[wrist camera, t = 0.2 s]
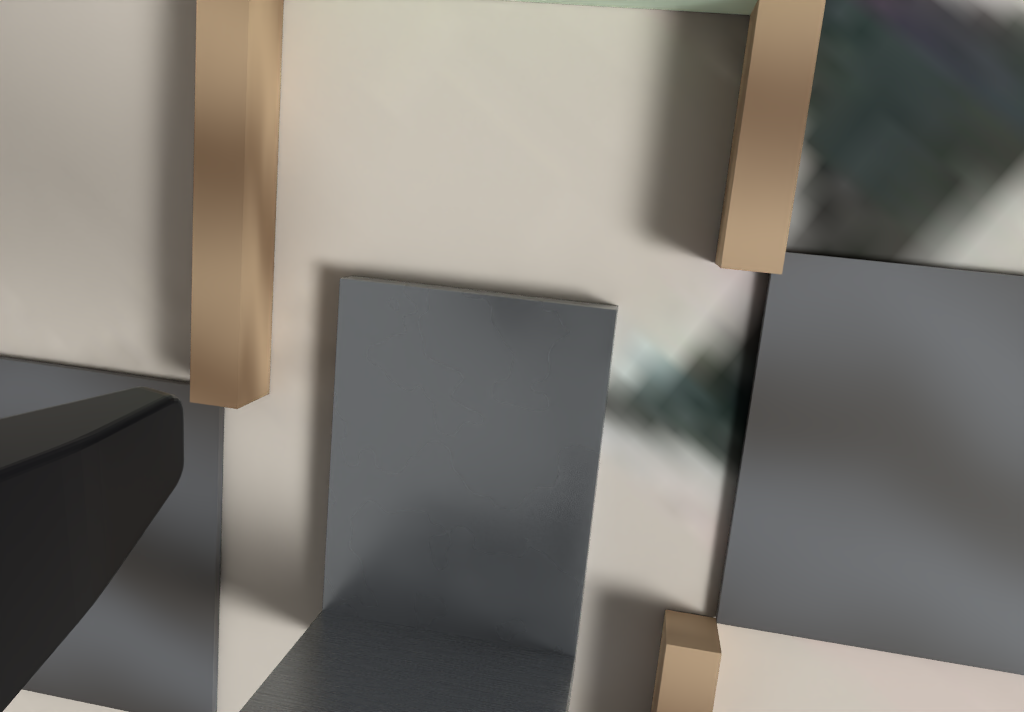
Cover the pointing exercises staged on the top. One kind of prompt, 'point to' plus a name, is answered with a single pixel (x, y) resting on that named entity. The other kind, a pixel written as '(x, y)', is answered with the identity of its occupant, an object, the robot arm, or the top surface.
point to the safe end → (668, 5)
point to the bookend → (454, 503)
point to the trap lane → (768, 434)
